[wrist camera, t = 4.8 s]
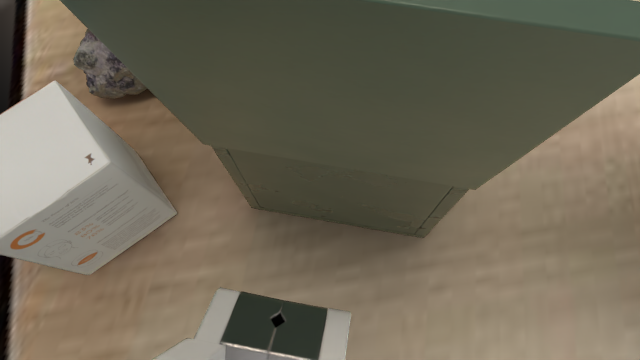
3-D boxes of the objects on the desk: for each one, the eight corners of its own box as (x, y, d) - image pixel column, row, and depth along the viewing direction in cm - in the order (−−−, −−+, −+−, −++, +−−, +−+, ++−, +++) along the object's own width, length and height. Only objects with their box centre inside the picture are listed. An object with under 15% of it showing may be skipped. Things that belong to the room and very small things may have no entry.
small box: (136, 150, 43) (56, 75, 31) (179, 214, 42) (114, 162, 29) (45, 210, 42) (-76, 158, 30) (87, 278, 41) (-23, 253, 28)
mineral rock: (102, 112, 44) (37, 50, 35) (83, -1, 47) (18, -88, 37) (259, 73, 45) (238, 2, 35) (231, -36, 48) (205, -130, 38)
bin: (289, 32, 46) (269, -111, 31) (448, 56, 45) (504, -80, 30) (251, 207, 42) (206, 139, 27) (423, 238, 41) (474, 184, 26)
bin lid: (15, -89, 11) (5, -53, 11) (684, 6, 10) (681, 46, 10) (206, 128, 27) (202, 144, 27) (477, 173, 26) (475, 190, 26)
